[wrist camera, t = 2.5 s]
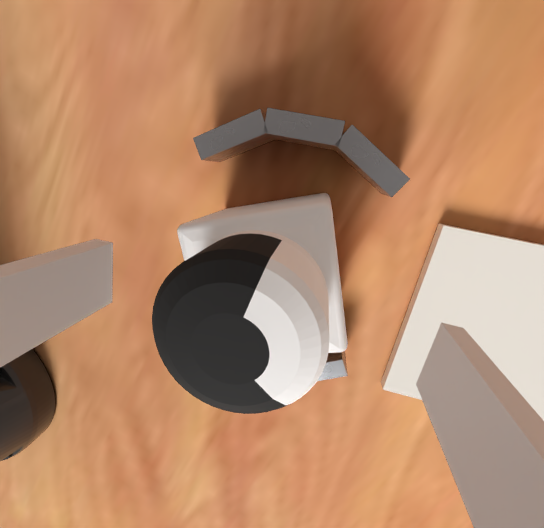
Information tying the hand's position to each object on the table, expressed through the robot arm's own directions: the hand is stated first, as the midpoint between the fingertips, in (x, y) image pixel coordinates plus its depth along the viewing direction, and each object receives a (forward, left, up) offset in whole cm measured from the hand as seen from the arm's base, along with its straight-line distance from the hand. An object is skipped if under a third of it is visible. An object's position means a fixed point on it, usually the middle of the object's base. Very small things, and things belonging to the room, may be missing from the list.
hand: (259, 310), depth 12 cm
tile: (+15, -2, -9) cm, 17 cm away
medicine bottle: (0, 0, -9) cm, 9 cm away
